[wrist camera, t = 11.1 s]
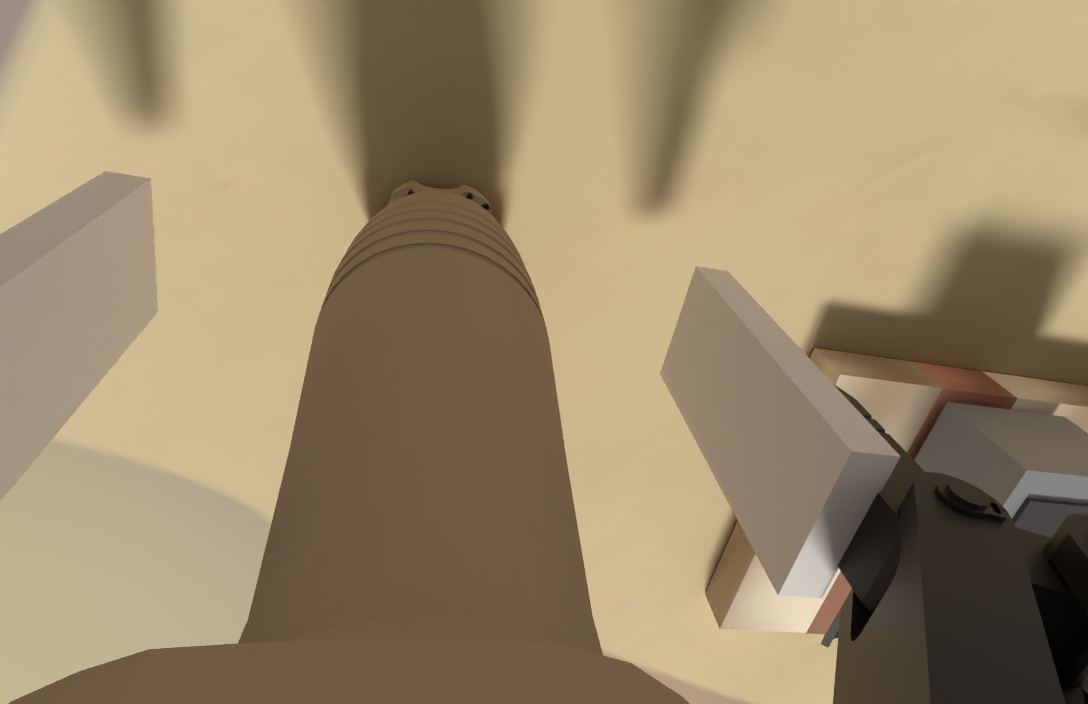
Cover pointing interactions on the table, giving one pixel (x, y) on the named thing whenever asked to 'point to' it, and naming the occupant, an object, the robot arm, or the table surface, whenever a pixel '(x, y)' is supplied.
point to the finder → (1013, 461)
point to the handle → (411, 501)
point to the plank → (908, 416)
